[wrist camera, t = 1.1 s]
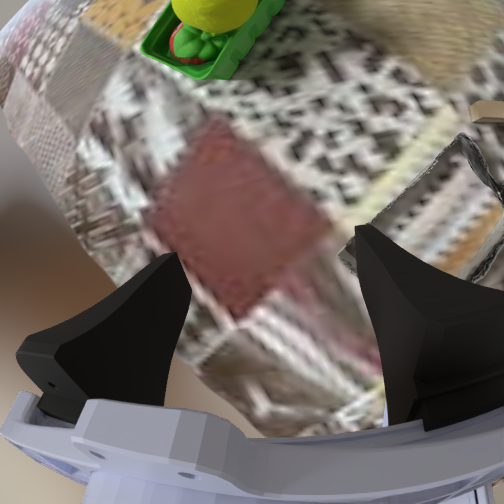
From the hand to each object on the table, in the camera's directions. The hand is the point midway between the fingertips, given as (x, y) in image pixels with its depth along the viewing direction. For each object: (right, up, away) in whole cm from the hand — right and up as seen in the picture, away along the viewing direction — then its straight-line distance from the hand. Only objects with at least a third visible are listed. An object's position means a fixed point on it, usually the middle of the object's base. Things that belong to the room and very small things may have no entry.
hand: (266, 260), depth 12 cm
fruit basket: (-1, +19, +9) cm, 21 cm away
